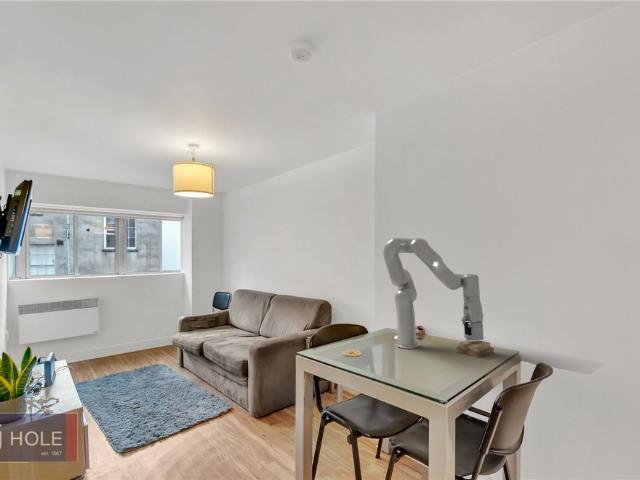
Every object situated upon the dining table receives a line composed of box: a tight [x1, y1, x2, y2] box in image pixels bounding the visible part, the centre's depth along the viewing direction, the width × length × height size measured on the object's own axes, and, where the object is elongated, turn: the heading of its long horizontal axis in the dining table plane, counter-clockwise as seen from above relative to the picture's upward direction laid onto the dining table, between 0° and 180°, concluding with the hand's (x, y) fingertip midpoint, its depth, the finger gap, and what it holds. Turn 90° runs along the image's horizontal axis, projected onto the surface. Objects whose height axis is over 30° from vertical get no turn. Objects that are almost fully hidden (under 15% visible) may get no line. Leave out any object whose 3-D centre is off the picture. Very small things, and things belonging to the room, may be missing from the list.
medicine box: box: [463, 321, 484, 341], centre depth 161 cm, size 8×4×9 cm, turn 84°
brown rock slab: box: [456, 339, 495, 359], centre depth 161 cm, size 12×12×5 cm
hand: (473, 333), depth 161 cm, fingers closed on medicine box, 8 cm apart
